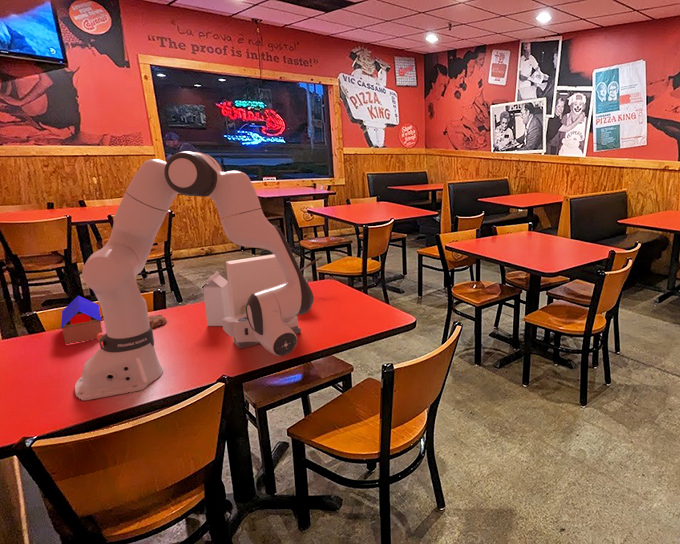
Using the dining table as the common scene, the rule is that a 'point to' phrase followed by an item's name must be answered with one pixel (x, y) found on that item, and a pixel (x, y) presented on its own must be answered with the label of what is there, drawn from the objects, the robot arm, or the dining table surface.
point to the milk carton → (216, 300)
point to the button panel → (253, 284)
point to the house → (81, 321)
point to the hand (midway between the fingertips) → (248, 312)
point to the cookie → (156, 320)
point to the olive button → (243, 309)
